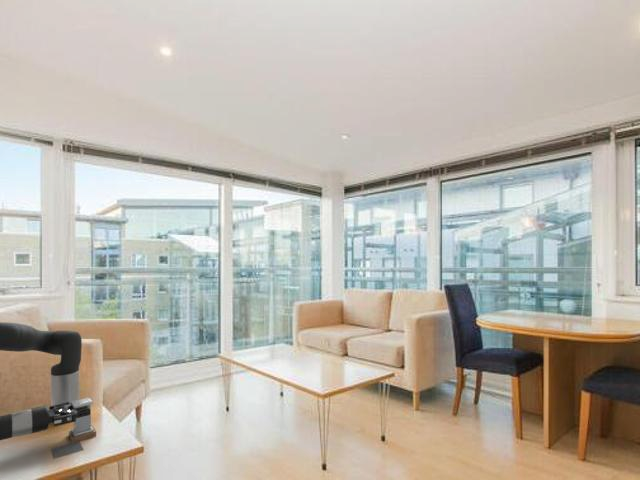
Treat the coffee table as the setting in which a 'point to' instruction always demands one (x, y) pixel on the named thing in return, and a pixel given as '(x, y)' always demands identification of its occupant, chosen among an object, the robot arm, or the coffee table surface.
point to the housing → (82, 423)
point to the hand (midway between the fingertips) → (87, 407)
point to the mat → (66, 449)
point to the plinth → (83, 436)
